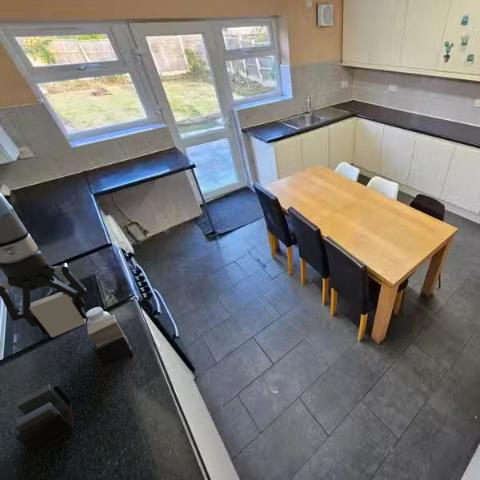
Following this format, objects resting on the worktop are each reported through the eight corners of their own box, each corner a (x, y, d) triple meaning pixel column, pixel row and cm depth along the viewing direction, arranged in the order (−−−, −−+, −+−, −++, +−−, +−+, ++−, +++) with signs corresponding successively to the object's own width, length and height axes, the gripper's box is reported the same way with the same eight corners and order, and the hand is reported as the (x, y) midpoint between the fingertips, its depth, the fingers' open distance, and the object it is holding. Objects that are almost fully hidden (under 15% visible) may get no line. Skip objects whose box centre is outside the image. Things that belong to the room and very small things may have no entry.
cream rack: (101, 348, 96) (85, 325, 91) (126, 336, 101) (113, 312, 95) (106, 368, 89) (89, 344, 83) (133, 354, 94) (119, 330, 88)
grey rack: (36, 421, 76) (13, 399, 70) (72, 401, 80) (53, 379, 75) (36, 455, 68) (9, 433, 63) (75, 431, 73) (54, 409, 68)
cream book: (51, 332, 75) (29, 303, 70) (85, 318, 80) (66, 289, 74) (51, 337, 74) (28, 308, 68) (86, 323, 78) (66, 294, 73)
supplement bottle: (118, 326, 105) (104, 302, 99) (121, 337, 101) (106, 312, 94) (98, 335, 102) (81, 310, 95) (99, 347, 97) (82, 321, 91)
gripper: (-51, 281, 56) (15, 353, 68) (73, 245, 68) (111, 312, 79) (-43, 266, 61) (17, 335, 73) (71, 235, 73) (107, 299, 84)
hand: (66, 323), depth 76 cm, fingers closed on cream book, 8 cm apart
